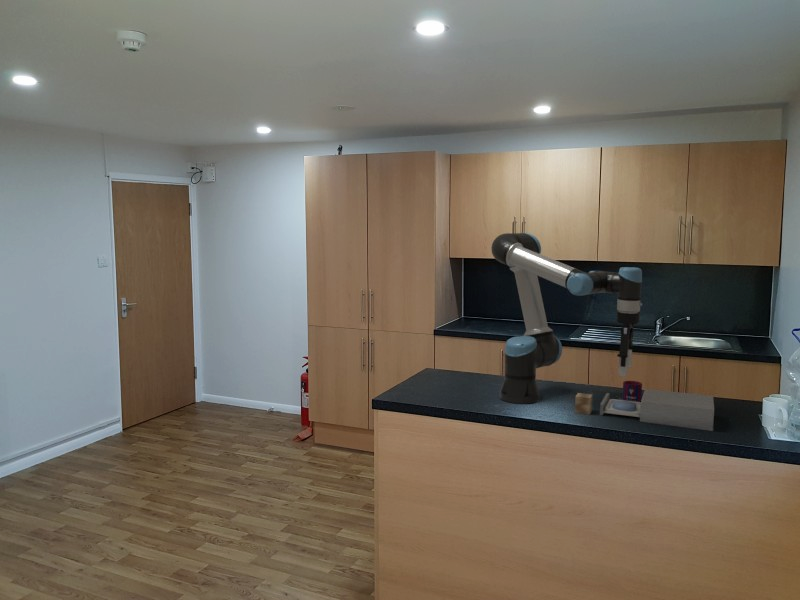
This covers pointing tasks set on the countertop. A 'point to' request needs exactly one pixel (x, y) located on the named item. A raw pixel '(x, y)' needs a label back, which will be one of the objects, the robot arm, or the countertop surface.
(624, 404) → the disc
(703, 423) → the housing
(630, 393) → the mug
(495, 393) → the countertop surface
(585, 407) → the block
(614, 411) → the tray
